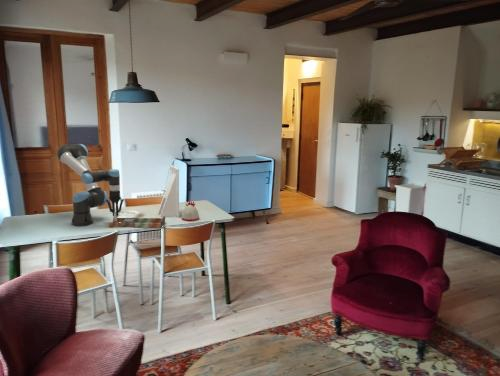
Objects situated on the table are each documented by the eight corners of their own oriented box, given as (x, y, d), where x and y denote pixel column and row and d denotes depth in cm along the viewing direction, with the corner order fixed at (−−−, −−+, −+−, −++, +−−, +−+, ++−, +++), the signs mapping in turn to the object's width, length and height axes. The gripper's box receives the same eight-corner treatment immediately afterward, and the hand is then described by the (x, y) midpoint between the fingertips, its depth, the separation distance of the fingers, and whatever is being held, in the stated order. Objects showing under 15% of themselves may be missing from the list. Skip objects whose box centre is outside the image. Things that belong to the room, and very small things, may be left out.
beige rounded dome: (195, 222, 320) (195, 203, 318) (179, 220, 323) (179, 202, 320) (201, 217, 334) (201, 199, 331) (185, 216, 336) (185, 198, 334)
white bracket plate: (155, 212, 343) (154, 166, 335) (172, 211, 350) (171, 165, 342) (161, 219, 326) (161, 169, 318) (179, 217, 332) (178, 169, 324)
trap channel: (108, 227, 299) (108, 220, 298) (113, 222, 314) (113, 215, 313) (162, 227, 302) (162, 221, 301) (165, 222, 316) (164, 216, 316)
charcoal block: (122, 226, 304) (122, 221, 303) (125, 223, 311) (125, 218, 310) (132, 226, 304) (131, 221, 303) (134, 224, 311) (134, 218, 310)
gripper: (104, 191, 297) (105, 222, 302) (122, 191, 298) (123, 222, 303) (107, 189, 305) (108, 219, 309) (124, 189, 306) (125, 219, 310)
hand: (115, 220), depth 306 cm, fingers closed
